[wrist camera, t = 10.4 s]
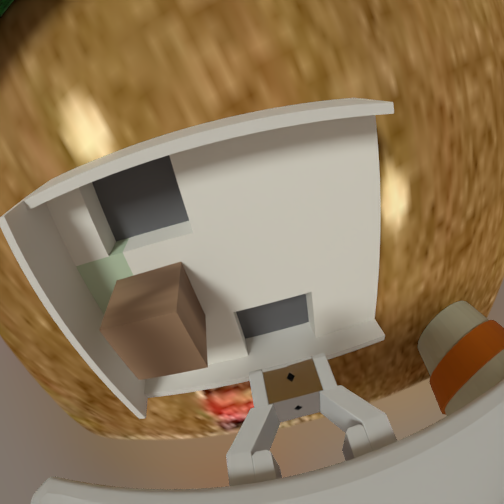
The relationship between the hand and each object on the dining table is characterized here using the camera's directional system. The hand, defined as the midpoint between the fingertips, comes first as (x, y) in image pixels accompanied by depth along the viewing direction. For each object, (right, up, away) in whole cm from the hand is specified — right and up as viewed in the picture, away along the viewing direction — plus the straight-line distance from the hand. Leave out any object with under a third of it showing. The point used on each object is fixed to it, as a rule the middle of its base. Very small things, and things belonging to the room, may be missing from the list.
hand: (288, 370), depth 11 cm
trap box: (-3, +5, +9) cm, 11 cm away
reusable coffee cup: (+23, -5, +20) cm, 31 cm away
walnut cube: (-7, +2, +7) cm, 11 cm away
